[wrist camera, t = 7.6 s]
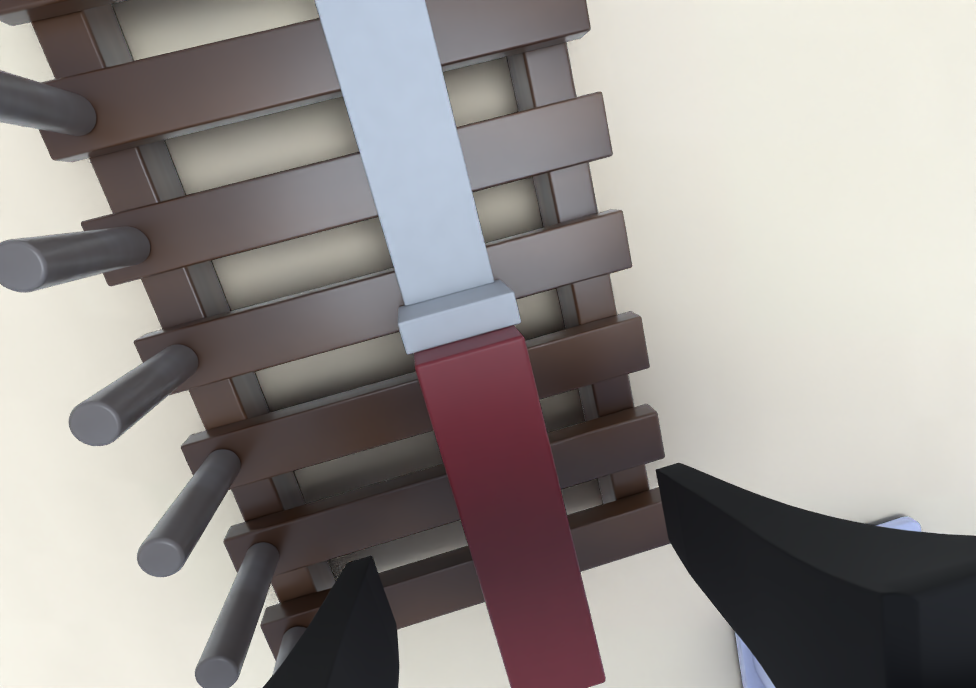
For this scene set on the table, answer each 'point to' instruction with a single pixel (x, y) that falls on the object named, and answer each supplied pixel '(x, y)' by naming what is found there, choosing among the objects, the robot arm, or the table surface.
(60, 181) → the table surface
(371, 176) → the knife
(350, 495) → the drying rack
